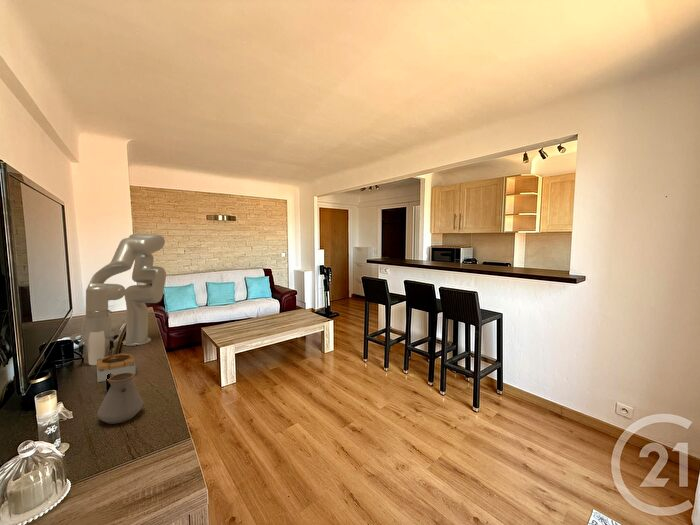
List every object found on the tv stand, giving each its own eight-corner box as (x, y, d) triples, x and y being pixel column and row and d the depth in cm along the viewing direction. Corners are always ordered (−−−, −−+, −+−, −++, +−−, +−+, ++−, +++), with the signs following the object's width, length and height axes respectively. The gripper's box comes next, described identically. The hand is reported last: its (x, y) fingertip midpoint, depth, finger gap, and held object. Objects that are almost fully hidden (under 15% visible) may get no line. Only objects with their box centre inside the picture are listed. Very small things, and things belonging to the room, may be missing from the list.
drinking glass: (85, 363, 130) (85, 330, 129) (105, 359, 135) (105, 327, 134) (87, 367, 125) (87, 333, 125) (107, 363, 130) (107, 330, 130)
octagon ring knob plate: (96, 368, 125) (96, 356, 125) (131, 362, 133) (131, 350, 133) (97, 382, 113) (97, 368, 113) (135, 374, 121) (135, 361, 121)
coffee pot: (97, 414, 92) (98, 368, 92) (141, 403, 100) (142, 360, 99) (95, 451, 76) (95, 395, 75) (148, 435, 83) (149, 384, 83)
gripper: (121, 310, 138) (120, 345, 138) (70, 314, 126) (70, 353, 127) (122, 313, 132) (121, 350, 133) (69, 317, 120) (69, 358, 121)
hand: (96, 351), depth 130 cm, fingers open, 9 cm apart
